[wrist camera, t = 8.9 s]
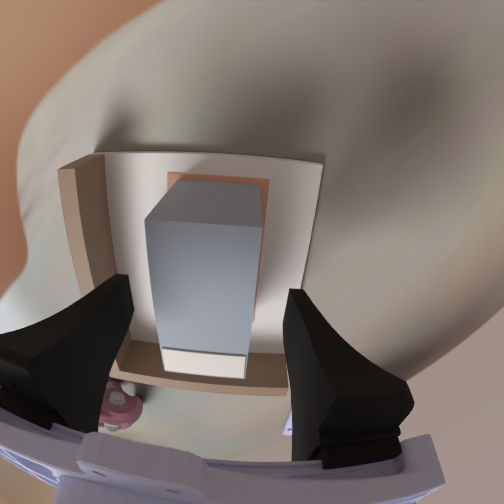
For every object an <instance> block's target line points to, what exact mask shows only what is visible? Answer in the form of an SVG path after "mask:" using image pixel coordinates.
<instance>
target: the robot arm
mask: <svg viewBox="0 0 504 504" xmlns="http://www.w3.org/2000/svg"><path fill="white" fill-rule="evenodd" d="M134 310H135V309H134V304H133V299H132V293H131V287H130V281H129V275H127V274H118V273H116V274H115V275H113V276H112V277H110V278H109V279H107V280H106V281H105V282H103V283H102V284H100V285H99V286H98V287H96V288H95V289H94V290H92V291H91V292H89V293H88V294H87V295H85V296H84V297H82V298H81V299H79V300H78V301H76V302H75V303H73V304H72V305H70V306H69V307H67V308H65V309H64V310H62V311H60V312H58V313H56V314H55V315H53V316H51V317H49V318H46V319H44V320H42V321H40V322H37V323H35V324H33V325H30V326H27V327H25V328H22V329H19V330H15V331H12V332H8V333H4V334H0V456H1V457H2V458H4V459H6V460H7V461H9V462H10V463H12V464H14V465H15V466H17V467H19V468H21V469H22V470H24V471H26V472H28V473H29V474H31V475H33V476H35V477H37V478H38V479H40V480H42V481H44V482H46V483H48V484H50V485H52V486H54V487H56V488H57V490H56V494H55V497H54V501H53V504H416V501H417V500H419V499H421V498H423V497H425V496H426V495H428V494H430V493H432V492H433V491H435V490H437V489H438V488H440V487H442V486H443V485H445V479H444V476H443V472H442V469H441V465H440V462H439V460H438V456H437V453H436V450H435V447H434V444H433V441H432V438H431V435H430V434H425V435H422V436H417V437H413V438H409V439H406V440H404V441H402V442H399V439H398V436H399V435H400V434H401V431H400V428H399V425H400V424H401V423H402V421H403V420H404V419H405V418H406V417H407V416H408V415H409V413H410V412H411V411H412V409H413V407H414V400H413V397H412V394H411V392H410V389H409V387H408V385H407V383H406V381H404V380H402V379H400V378H398V377H396V376H394V375H392V374H390V373H388V372H387V371H385V370H383V369H382V368H380V367H378V366H377V365H375V364H374V363H372V362H371V361H369V360H368V359H367V358H365V357H364V356H363V355H361V354H360V353H359V352H357V351H356V350H355V349H354V348H353V347H351V346H350V345H349V344H348V343H347V342H346V341H345V340H344V339H343V338H342V337H341V336H340V335H339V334H338V333H337V332H336V331H335V330H334V329H333V328H332V327H331V325H330V324H329V323H328V322H327V321H326V319H325V318H324V317H323V316H322V314H321V313H320V312H319V310H318V309H317V308H316V306H315V305H314V304H313V302H312V301H311V299H310V298H309V297H308V295H307V294H306V292H305V291H304V290H303V289H294V288H289V293H288V298H287V303H286V308H285V313H284V318H283V323H282V324H283V344H284V351H285V357H286V363H287V369H288V375H289V381H290V388H291V406H292V409H291V412H290V414H289V417H288V419H287V422H286V424H285V427H284V429H283V434H284V435H292V462H247V461H246V462H245V461H244V462H243V461H228V460H215V459H205V458H201V457H200V456H197V455H195V454H192V453H190V452H187V451H183V450H179V449H174V448H169V447H163V446H157V445H152V444H147V443H142V442H137V441H133V440H129V439H124V438H120V437H116V436H112V435H109V434H105V433H99V432H98V425H99V419H100V413H101V407H102V402H103V398H104V393H105V389H106V385H107V382H108V378H109V374H110V371H111V368H112V366H113V363H114V361H115V359H116V356H117V354H118V352H119V350H120V347H121V345H122V343H123V341H124V338H125V336H126V334H127V332H128V329H129V327H130V323H131V320H132V317H133V313H134Z"/></svg>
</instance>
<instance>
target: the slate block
mask: <svg viewBox="0 0 504 504" xmlns="http://www.w3.org/2000/svg"><path fill="white" fill-rule="evenodd" d="M144 223H145V236H146V247H147V258H148V267H149V276H150V284H151V292H152V300H153V307H154V314H155V320H156V326H157V332H158V338H159V344H160V350H161V355H162V360H163V365H164V370H165V371H170V372H177V373H185V374H194V375H204V376H214V377H226V378H241V379H245V375H246V367H247V359H248V351H249V343H250V334H251V326H252V317H253V309H254V301H255V292H256V283H257V275H258V266H259V257H260V249H261V240H262V231H263V223H262V210H261V197H260V185H255V184H243V183H229V182H214V181H196V180H177V181H176V182H175V183H174V184H173V186H172V187H171V188H170V189H169V190H168V191H167V193H166V194H165V195H164V196H163V197H162V198H161V200H160V201H159V202H158V203H157V205H156V206H155V207H154V208H153V209H152V211H151V212H150V213H149V214H148V216H147V217H146V218H145V219H144Z"/></svg>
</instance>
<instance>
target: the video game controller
mask: <svg viewBox="0 0 504 504" xmlns="http://www.w3.org/2000/svg"><path fill="white" fill-rule="evenodd" d="M142 410H143V404H142V400H141V399H140V398H139V397H138V396H130V395H128V394H127V393H125V392H124V391H123V390H122V387H121V385H120V383H119V382H118V381H116V380H113V379H110V378H108V382H107V385H106V389H105V393H104V398H103V402H102V407H101V413H100V419H99V425H98V427H105V428H106V429H107V430H109V431H112V432H115V431H118V430H124V429H126V428H128V427H130V426H131V425H132V424H133V423H134V422H136V421H137V420H138V418H139V417H140V415H141V413H142Z"/></svg>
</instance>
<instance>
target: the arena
mask: <svg viewBox="0 0 504 504" xmlns="http://www.w3.org/2000/svg"><path fill="white" fill-rule="evenodd" d="M322 169H323V165H322V164H321V163H317V162H309V161H301V160H293V159H284V158H274V157H264V156H252V155H239V154H224V153H205V152H173V151H128V152H98V153H91V154H89V155H87V156H85V157H82V158H80V159H78V160H76V161H74V162H72V163H70V164H67V165H65V166H63V167H61V168H59V169H57V170H58V179H59V188H60V196H61V203H62V209H63V216H64V222H65V227H66V233H67V238H68V243H69V247H70V252H71V257H72V261H73V265H74V269H75V273H76V277H77V281H78V285H79V289H80V292H81V296H82V297H84V296H85V295H87V294H88V293H89V292H91V291H92V290H94V289H95V288H96V287H98V286H99V285H100V284H102V283H103V282H105V281H106V280H107V279H109V278H110V277H112V276H113V275H115V274H116V273H118V274H127V275H129V281H130V287H131V293H132V299H133V304H134V309H135V310H134V313H133V317H132V320H131V323H130V327H129V329H128V332H127V334H126V336H125V338H124V341H123V343H122V345H121V347H120V350H119V352H118V354H117V356H116V359H115V361H114V363H113V366H112V368H111V371H110V374H109V376H110V377H113V378H117V379H122V380H127V381H133V382H138V383H144V384H149V385H155V386H162V387H169V388H176V389H184V390H192V391H201V392H211V393H223V394H237V395H256V396H286V394H287V391H288V378H287V368H286V358H285V351H284V344H283V324H282V323H283V318H284V313H285V308H286V303H287V298H288V293H289V288H294V289H300V287H301V282H302V278H303V273H304V268H305V263H306V258H307V253H308V248H309V243H310V238H311V232H312V227H313V222H314V216H315V211H316V205H317V199H318V193H319V187H320V181H321V175H322ZM177 180H196V181H214V182H229V183H243V184H255V185H260V197H261V210H262V223H263V231H262V240H261V249H260V257H259V266H258V275H257V283H256V292H255V301H254V309H253V317H252V326H251V334H250V343H249V351H248V359H247V367H246V375H245V379H241V378H226V377H214V376H204V375H194V374H185V373H177V372H170V371H165V370H164V365H163V360H162V355H161V350H160V344H159V338H158V332H157V326H156V320H155V314H154V307H153V300H152V292H151V284H150V276H149V267H148V258H147V247H146V236H145V223H144V219H145V218H146V217H147V216H148V214H149V213H150V212H151V211H152V209H153V208H154V207H155V206H156V205H157V203H158V202H159V201H160V200H161V198H162V197H163V196H164V195H165V194H166V193H167V191H168V190H169V189H170V188H171V187H172V186H173V184H174V183H175V182H176V181H177Z"/></svg>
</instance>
